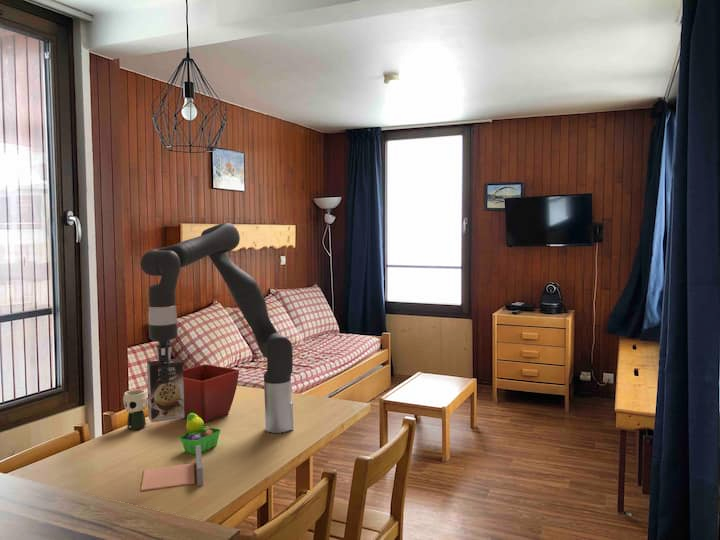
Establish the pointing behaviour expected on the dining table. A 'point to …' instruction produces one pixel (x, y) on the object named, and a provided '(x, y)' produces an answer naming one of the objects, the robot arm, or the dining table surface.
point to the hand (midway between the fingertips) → (165, 379)
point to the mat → (168, 477)
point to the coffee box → (165, 392)
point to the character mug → (135, 408)
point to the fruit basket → (198, 435)
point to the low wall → (199, 465)
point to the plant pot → (209, 391)
